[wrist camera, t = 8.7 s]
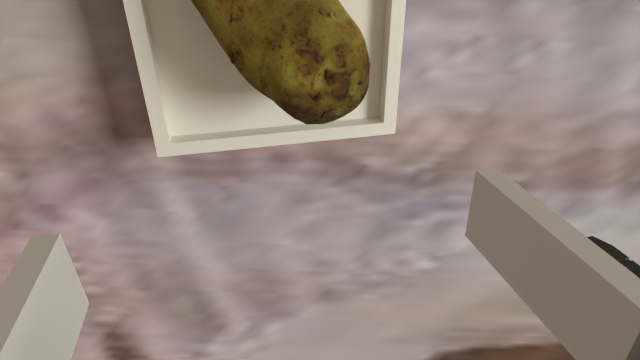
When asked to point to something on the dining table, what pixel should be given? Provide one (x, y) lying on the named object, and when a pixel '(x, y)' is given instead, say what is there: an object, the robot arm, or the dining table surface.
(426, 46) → the dining table surface
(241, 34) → the potato
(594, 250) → the robot arm
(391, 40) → the rectangular tray
